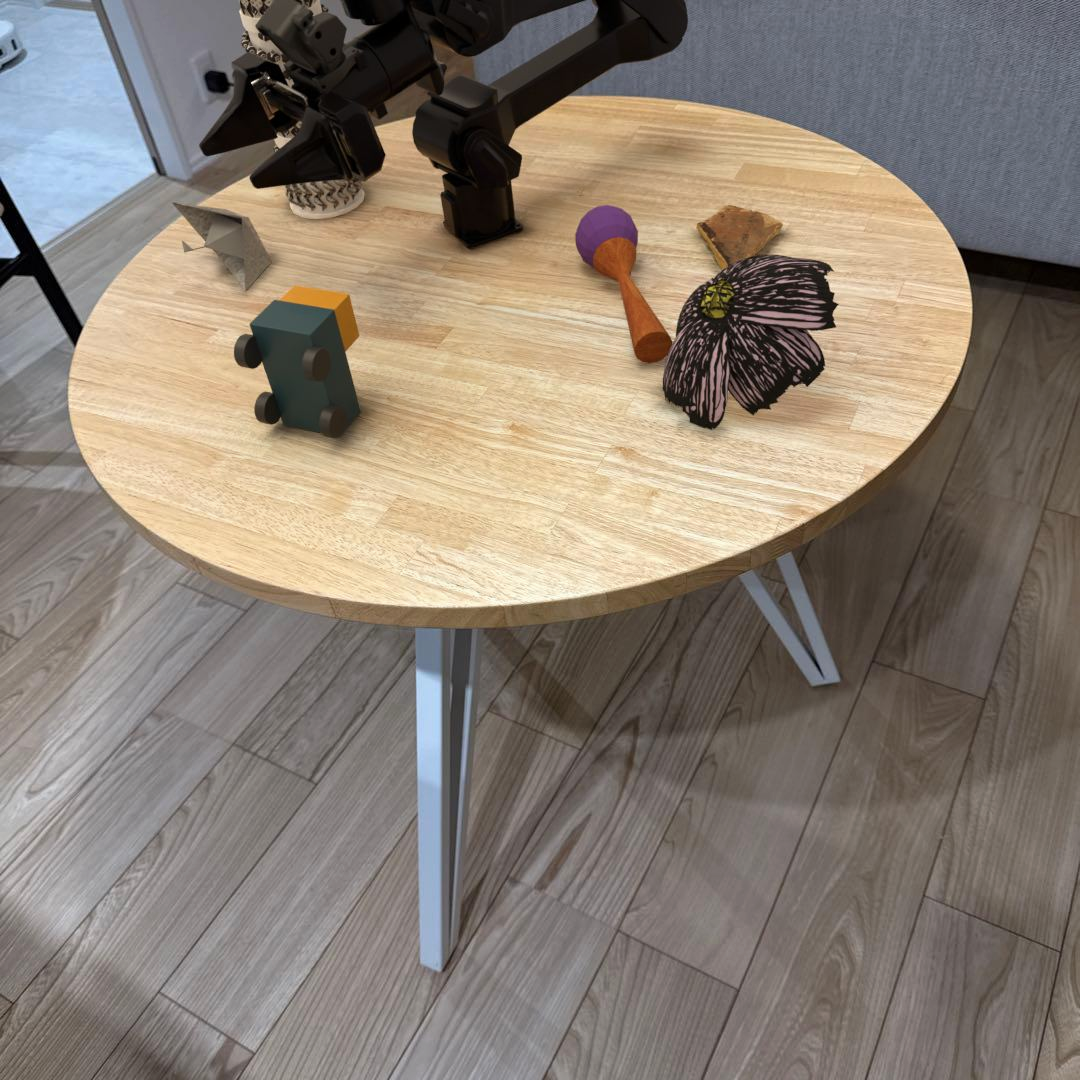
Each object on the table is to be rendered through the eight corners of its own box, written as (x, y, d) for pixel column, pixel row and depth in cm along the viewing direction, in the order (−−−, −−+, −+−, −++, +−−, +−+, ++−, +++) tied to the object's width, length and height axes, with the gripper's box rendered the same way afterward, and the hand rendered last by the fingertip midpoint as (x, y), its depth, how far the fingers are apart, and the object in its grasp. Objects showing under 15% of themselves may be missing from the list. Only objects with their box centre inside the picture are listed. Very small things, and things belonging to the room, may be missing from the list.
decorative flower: (633, 242, 81) (821, 190, 76) (673, 331, 91) (843, 290, 85) (634, 386, 74) (841, 340, 69) (677, 466, 84) (863, 431, 78)
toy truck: (313, 381, 88) (283, 280, 81) (384, 394, 86) (359, 293, 79) (262, 437, 83) (226, 335, 76) (336, 453, 81) (306, 350, 74)
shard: (732, 286, 93) (733, 268, 92) (661, 265, 97) (662, 249, 96) (785, 234, 99) (787, 217, 98) (717, 217, 103) (718, 200, 101)
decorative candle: (385, 190, 113) (335, -58, 96) (331, 227, 108) (268, -28, 90) (324, 176, 117) (265, -65, 99) (270, 211, 112) (198, -37, 94)
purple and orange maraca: (613, 332, 83) (563, 205, 96) (626, 383, 87) (577, 256, 100) (682, 309, 82) (623, 185, 95) (691, 362, 87) (634, 236, 100)
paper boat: (302, 253, 102) (232, 273, 96) (282, 296, 107) (213, 318, 100) (228, 168, 103) (154, 182, 96) (211, 214, 108) (138, 231, 101)
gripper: (277, -43, 87) (127, 49, 83) (397, -1, 76) (231, 107, 72) (329, 78, 95) (195, 166, 92) (443, 131, 85) (297, 233, 81)
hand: (226, 166), depth 84 cm, fingers open, 9 cm apart
